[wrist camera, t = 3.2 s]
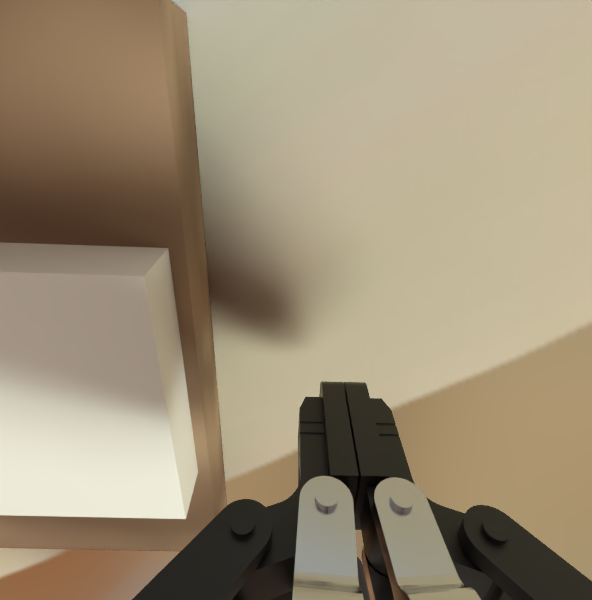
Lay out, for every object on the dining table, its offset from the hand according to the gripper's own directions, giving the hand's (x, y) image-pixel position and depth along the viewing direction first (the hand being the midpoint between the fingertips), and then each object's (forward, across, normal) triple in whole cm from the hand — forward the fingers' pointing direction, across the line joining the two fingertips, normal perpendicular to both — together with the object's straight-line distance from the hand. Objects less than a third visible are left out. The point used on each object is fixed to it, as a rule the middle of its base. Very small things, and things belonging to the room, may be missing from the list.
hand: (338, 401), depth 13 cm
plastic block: (0, +9, 0) cm, 9 cm away
